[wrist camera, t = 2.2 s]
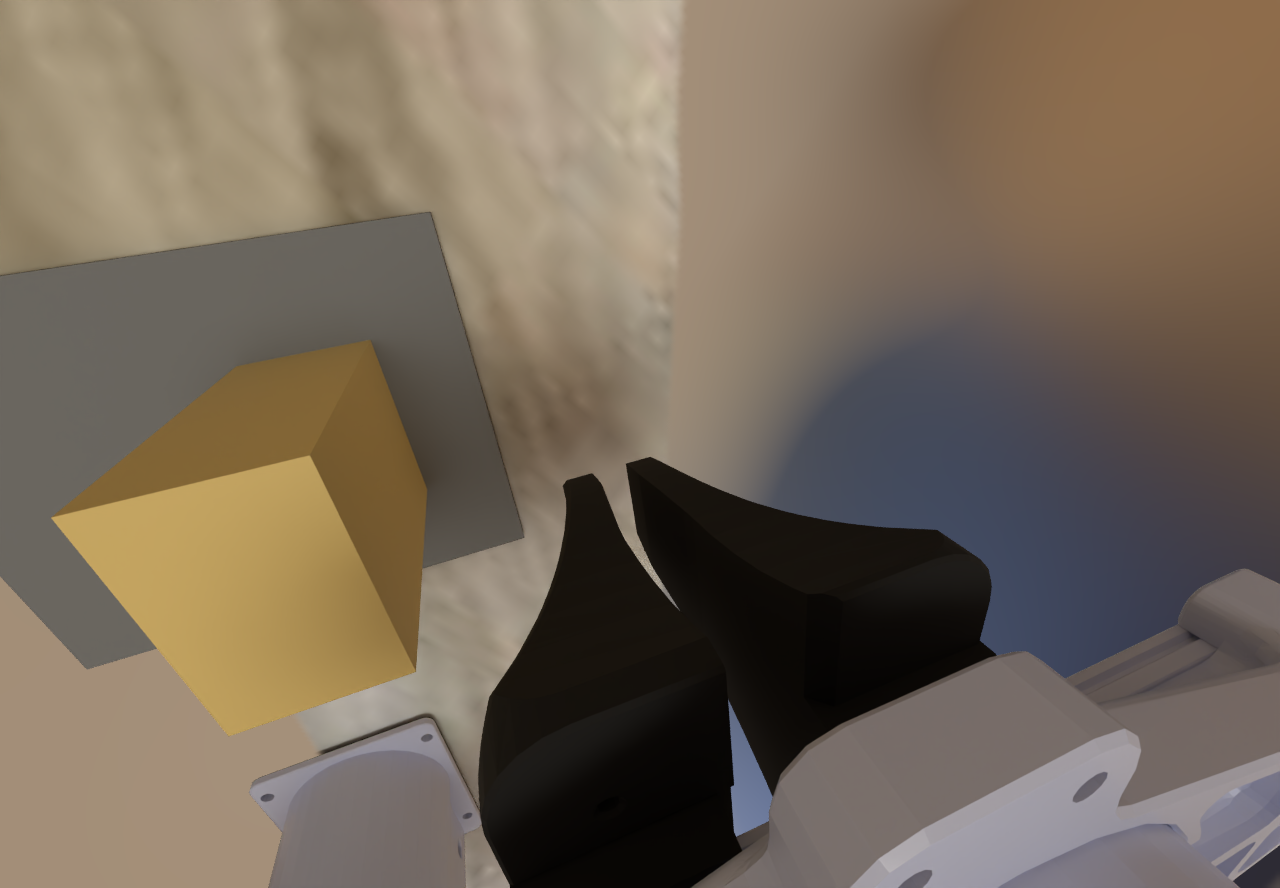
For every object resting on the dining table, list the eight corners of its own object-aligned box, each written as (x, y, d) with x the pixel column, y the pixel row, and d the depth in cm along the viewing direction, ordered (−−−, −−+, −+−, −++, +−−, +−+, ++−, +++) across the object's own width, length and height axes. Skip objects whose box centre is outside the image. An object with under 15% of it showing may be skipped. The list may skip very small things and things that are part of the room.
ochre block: (427, 489, 20) (415, 671, 12) (315, 519, 19) (228, 736, 11) (370, 339, 17) (310, 455, 10) (236, 366, 16) (50, 517, 9)
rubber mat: (523, 532, 23) (524, 537, 22) (93, 660, 19) (86, 669, 19) (430, 211, 17) (429, 212, 16) (-228, 309, 13) (-245, 312, 13)
